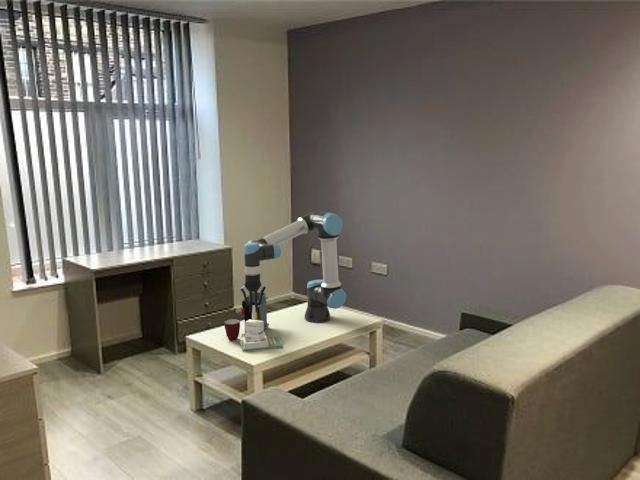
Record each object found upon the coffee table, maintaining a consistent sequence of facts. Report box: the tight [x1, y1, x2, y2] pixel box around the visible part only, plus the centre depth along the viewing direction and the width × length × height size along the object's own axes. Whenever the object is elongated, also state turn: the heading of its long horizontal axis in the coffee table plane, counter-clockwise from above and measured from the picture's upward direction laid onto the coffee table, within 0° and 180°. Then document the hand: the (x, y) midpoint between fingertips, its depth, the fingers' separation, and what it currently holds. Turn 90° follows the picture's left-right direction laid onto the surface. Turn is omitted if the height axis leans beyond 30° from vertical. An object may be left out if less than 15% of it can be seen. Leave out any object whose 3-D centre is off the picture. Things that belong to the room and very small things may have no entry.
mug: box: [224, 318, 241, 342], centre depth 281 cm, size 11×8×10 cm
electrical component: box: [240, 292, 270, 331], centre depth 290 cm, size 18×10×20 cm, turn 168°
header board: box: [239, 331, 283, 353], centre depth 274 cm, size 20×14×4 cm
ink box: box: [244, 319, 265, 343], centre depth 272 cm, size 9×5×12 cm, turn 71°
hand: (253, 318), depth 271 cm, fingers closed
